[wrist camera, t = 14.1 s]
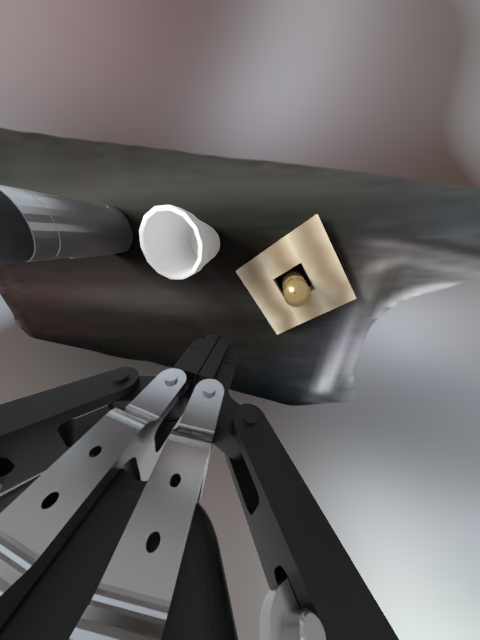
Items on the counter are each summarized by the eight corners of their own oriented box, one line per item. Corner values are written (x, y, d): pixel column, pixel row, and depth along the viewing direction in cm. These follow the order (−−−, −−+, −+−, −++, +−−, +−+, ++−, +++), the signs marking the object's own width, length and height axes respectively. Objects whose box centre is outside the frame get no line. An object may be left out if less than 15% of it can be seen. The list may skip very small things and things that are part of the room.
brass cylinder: (287, 292, 36) (291, 311, 27) (278, 276, 35) (278, 290, 26) (305, 283, 34) (315, 299, 25) (296, 265, 33) (303, 276, 24)
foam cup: (185, 211, 33) (135, 197, 21) (230, 220, 32) (204, 211, 21) (184, 261, 37) (142, 272, 26) (224, 270, 36) (199, 286, 25)
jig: (277, 327, 40) (277, 334, 37) (239, 268, 35) (235, 271, 32) (349, 292, 33) (356, 298, 30) (313, 216, 29) (317, 213, 26)
